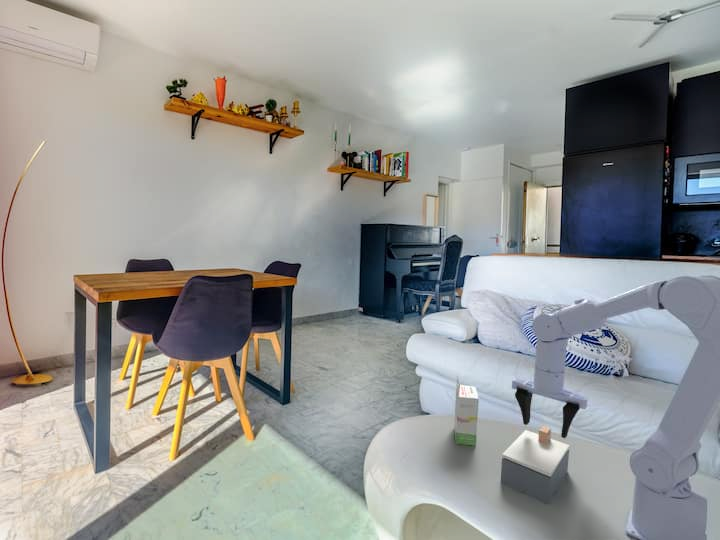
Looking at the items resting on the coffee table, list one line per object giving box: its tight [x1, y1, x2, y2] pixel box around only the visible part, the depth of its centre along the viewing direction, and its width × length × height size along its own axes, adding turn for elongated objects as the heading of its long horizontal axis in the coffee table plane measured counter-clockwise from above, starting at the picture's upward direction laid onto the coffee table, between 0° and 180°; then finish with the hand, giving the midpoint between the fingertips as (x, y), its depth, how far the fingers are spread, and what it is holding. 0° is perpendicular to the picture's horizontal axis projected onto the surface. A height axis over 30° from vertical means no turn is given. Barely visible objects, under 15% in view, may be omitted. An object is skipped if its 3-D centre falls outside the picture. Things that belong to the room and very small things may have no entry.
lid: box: [501, 425, 570, 477], centre depth 76 cm, size 9×14×3 cm, turn 138°
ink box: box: [453, 374, 480, 447], centre depth 91 cm, size 9×5×15 cm, turn 168°
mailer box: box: [500, 448, 570, 505], centre depth 76 cm, size 9×14×5 cm, turn 138°
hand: (544, 429), depth 80 cm, fingers open, 7 cm apart
